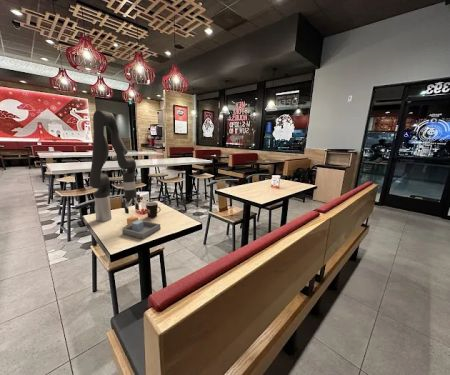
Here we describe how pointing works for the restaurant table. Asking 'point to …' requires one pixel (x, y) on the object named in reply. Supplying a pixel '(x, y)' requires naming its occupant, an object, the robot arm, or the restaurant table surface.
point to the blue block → (137, 225)
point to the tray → (142, 234)
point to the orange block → (131, 220)
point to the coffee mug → (152, 209)
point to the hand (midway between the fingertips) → (132, 211)
